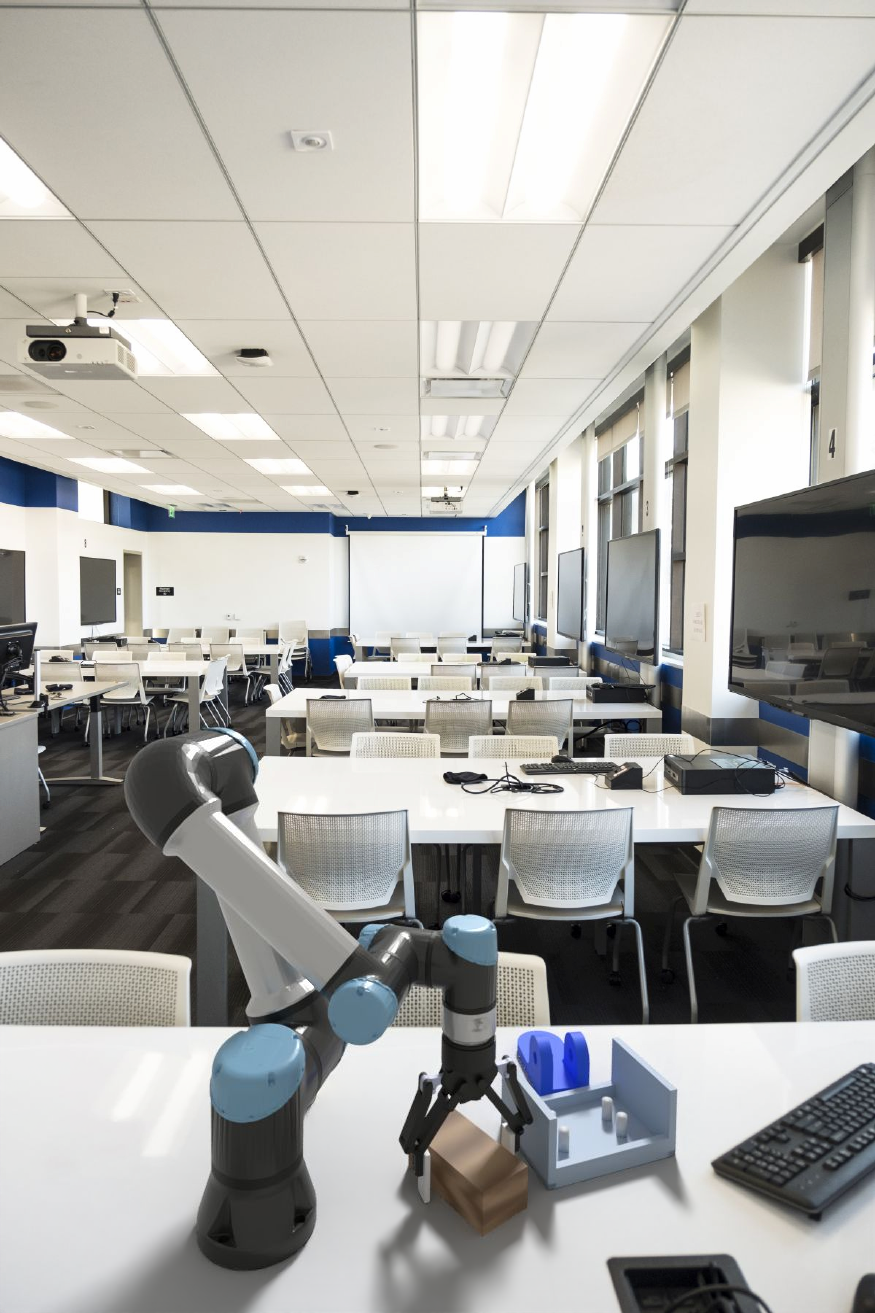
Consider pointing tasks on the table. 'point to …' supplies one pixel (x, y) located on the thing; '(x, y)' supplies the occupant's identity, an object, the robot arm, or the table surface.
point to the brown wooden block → (476, 1174)
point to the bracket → (554, 1061)
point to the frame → (599, 1122)
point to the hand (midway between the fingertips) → (466, 1184)
